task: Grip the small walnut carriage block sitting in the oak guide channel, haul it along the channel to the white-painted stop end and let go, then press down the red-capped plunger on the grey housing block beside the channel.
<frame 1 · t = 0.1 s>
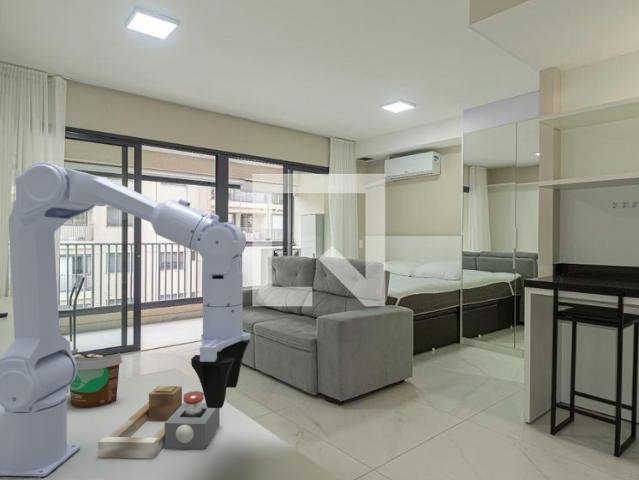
hand: (222, 396, 59), 10 cm above the table, tool pointing down, fingers open, 7 cm apart
plunger: (193, 409, 68), point 5 cm above the table, slide at 0.0 cm
channel: (157, 424, 72), on the table
grey housing block: (193, 436, 68), on the table
carriage: (165, 416, 76), resting in channel
food container: (85, 405, 81), on the table
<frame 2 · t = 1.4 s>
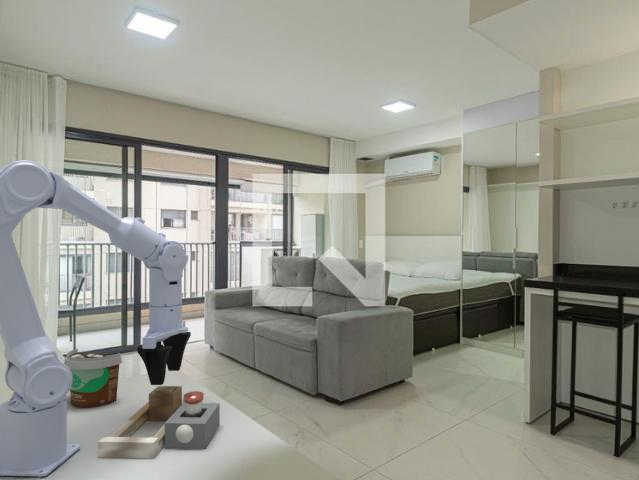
hand: (166, 377, 76), 7 cm above the table, tool pointing down, fingers open, 7 cm apart
nothing on the table moved.
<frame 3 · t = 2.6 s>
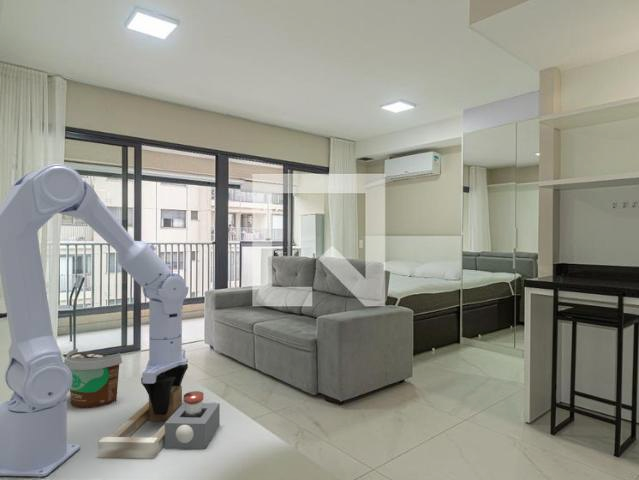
hand: (165, 408, 76), 1 cm above the table, tool pointing down, fingers closed on carriage, 4 cm apart
carriage: (165, 416, 76), resting in channel, touching gripper
everything else where it was.
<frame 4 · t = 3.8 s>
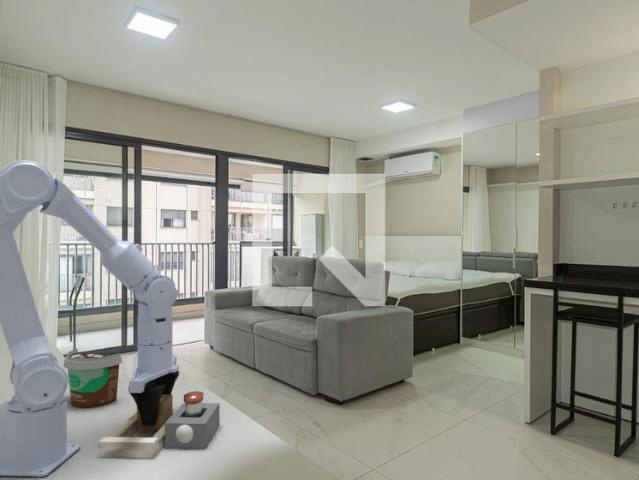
hand: (155, 418, 71), 1 cm above the table, tool pointing down, fingers closed on carriage, 4 cm apart
carriage: (155, 426, 71), resting in channel, touching gripper
everything else where it was.
when the fingers open (2 cm above the table, at t = 5.4 s): carriage stays where it is, resting in channel.
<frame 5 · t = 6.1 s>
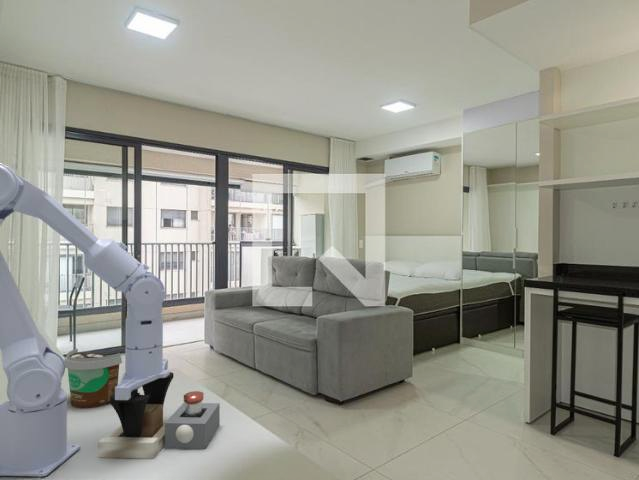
hand: (144, 426, 67), 2 cm above the table, tool pointing down, fingers open, 7 cm apart
carriage: (144, 439, 67), resting in channel
everything else where it was.
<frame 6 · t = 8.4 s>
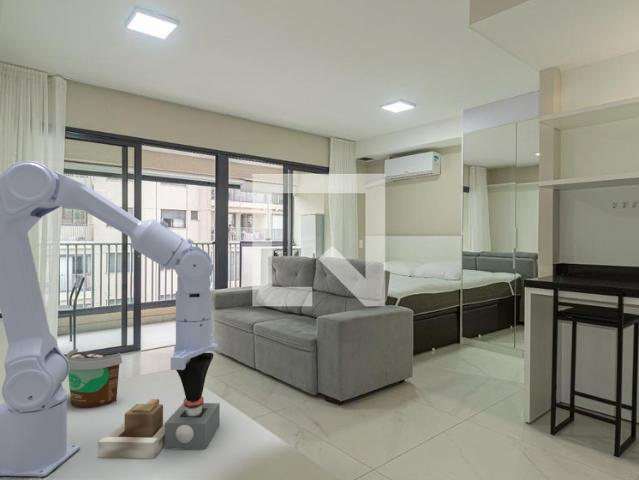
hand: (193, 399, 68), 6 cm above the table, tool pointing down, fingers closed, pressing on plunger
plunger: (193, 413, 68), point 4 cm above the table, slide at 0.7 cm, touching gripper
everything else where it was.
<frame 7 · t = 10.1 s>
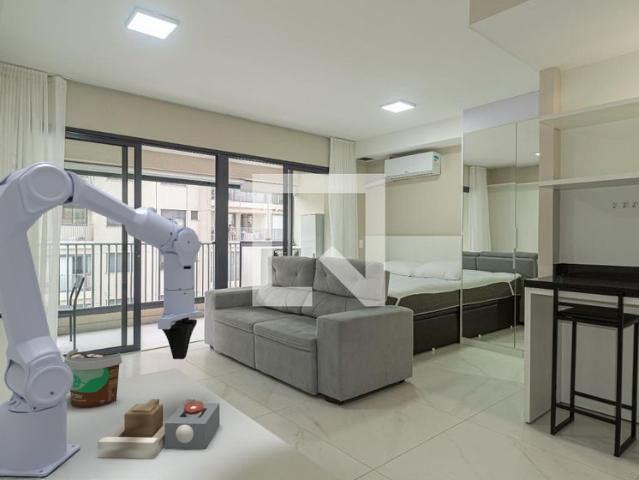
hand: (179, 358, 79), 10 cm above the table, tool pointing down, fingers closed
plunger: (193, 419, 68), point 3 cm above the table, slide at 1.7 cm
everything else where it was.
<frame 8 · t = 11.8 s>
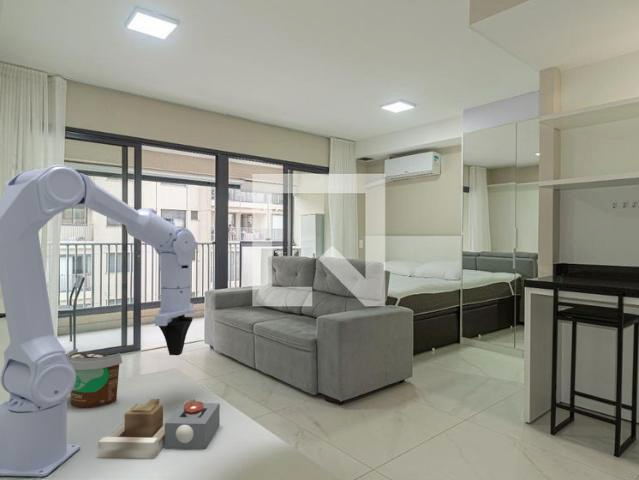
hand: (175, 354, 82), 10 cm above the table, tool pointing down, fingers closed
nothing on the table moved.
at the end: carriage 0.2 cm from the target spot, resting in channel; carriage tilted 0°; plunger slide at 1.7 cm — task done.
